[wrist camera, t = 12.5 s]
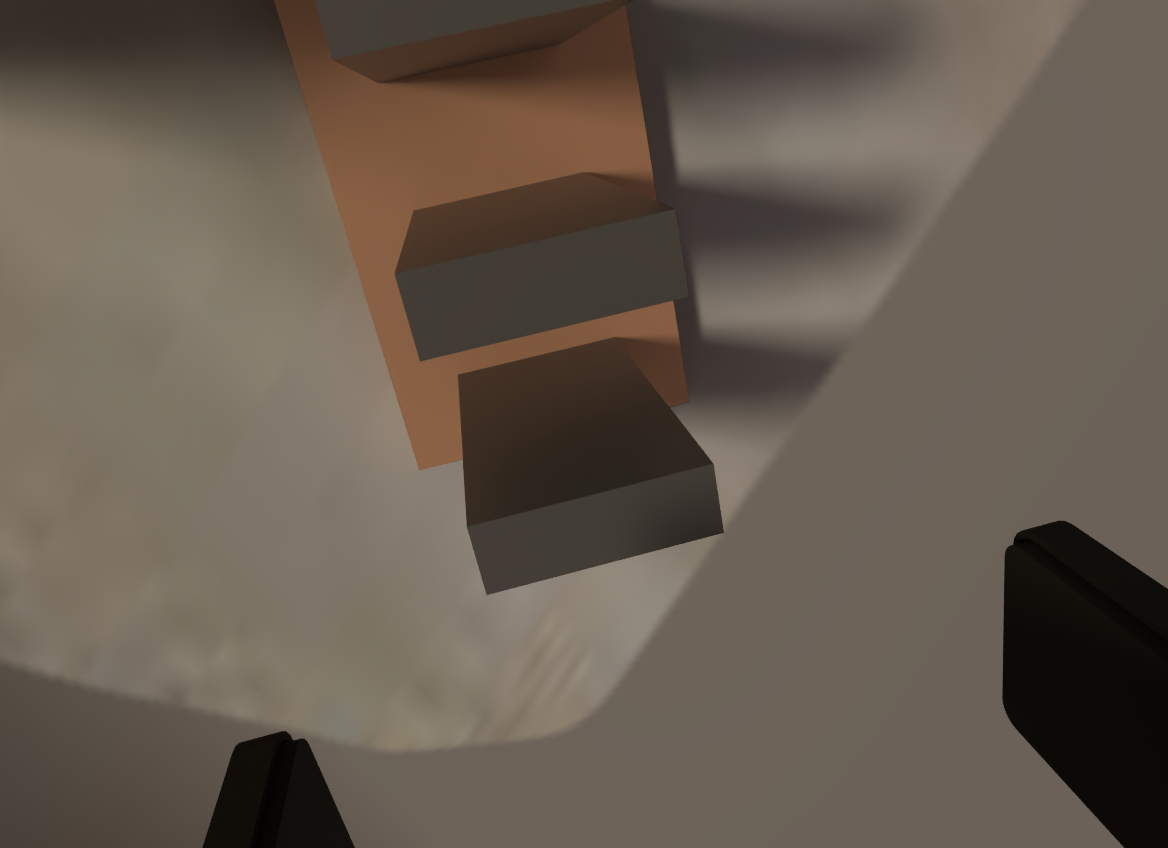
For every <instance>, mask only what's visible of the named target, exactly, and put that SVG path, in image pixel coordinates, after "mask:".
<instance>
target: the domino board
mask: <svg viewBox="0 0 1168 848" xmlns="http://www.w3.org/2000/svg"><path fill="white" fill-rule="evenodd" d="M274 2H275V6H276V9H277V12H278V15H279V19H280V22H281V25H282V28H283V32H284V35H285V38H286V41H287V44H288V48H289V51H290V54H291V57H292V61H293V64H294V67H295V70H296V73H297V77H298V80H299V83H300V86H301V90H302V93H303V96H304V99H305V103H306V106H307V109H308V112H309V115H310V119H311V122H312V125H313V128H314V132H315V135H316V138H317V141H318V145H319V148H320V151H321V154H322V157H323V161H324V164H325V167H326V170H327V174H328V177H329V180H330V183H331V187H332V190H333V193H334V196H335V199H336V203H337V206H338V209H339V212H340V216H341V219H342V222H343V225H344V228H345V232H346V235H347V238H348V241H349V245H350V248H351V251H352V254H353V258H354V261H355V264H356V267H357V270H358V274H359V277H360V280H361V283H362V287H363V290H364V293H365V296H366V300H367V303H368V306H369V309H370V312H371V316H372V319H373V322H374V325H375V329H376V332H377V335H378V338H379V342H380V345H381V348H382V351H383V354H384V358H385V361H386V364H387V367H388V371H389V374H390V377H391V380H392V383H393V387H394V390H395V393H396V396H397V400H398V403H399V406H400V409H401V413H402V416H403V419H404V422H405V425H406V429H407V432H408V435H409V438H410V442H411V445H412V448H413V451H414V455H415V458H416V461H417V464H418V467H419V470H422V469H426V468H430V467H434V466H438V465H442V464H446V463H450V462H454V461H458V460H462V459H463V453H462V436H461V419H460V403H459V386H458V375H459V374H463V373H467V372H471V371H475V370H479V369H484V368H488V367H492V366H496V365H500V364H504V363H508V362H513V361H517V360H521V359H525V358H529V357H533V356H538V355H542V354H546V353H550V352H554V351H558V350H563V349H567V348H571V347H575V346H579V345H583V344H587V343H592V342H596V341H600V340H604V339H608V338H612V337H615V338H616V339H617V341H618V342H619V343H620V345H621V346H622V347H623V348H624V350H625V351H626V352H627V354H628V355H629V356H630V357H631V359H632V360H633V361H634V363H635V364H636V365H637V366H638V368H639V369H640V370H641V372H642V373H643V374H644V375H645V377H646V378H647V379H648V381H649V382H650V383H651V384H652V386H653V387H654V388H655V390H656V391H657V392H658V393H659V395H660V396H661V397H662V398H663V400H664V401H665V402H666V404H667V405H668V406H669V407H673V406H677V405H681V404H685V403H689V395H688V389H687V383H686V377H685V370H684V364H683V358H682V352H681V346H680V339H679V333H678V327H677V321H676V315H675V308H674V302H673V301H670V302H666V303H662V304H657V305H653V306H649V307H645V308H641V309H637V310H632V311H628V312H624V313H620V314H616V315H612V316H607V317H603V318H599V319H595V320H591V321H587V322H583V323H578V324H574V325H570V326H566V327H562V328H558V329H553V330H549V331H545V332H541V333H537V334H533V335H529V336H524V337H520V338H516V339H512V340H508V341H504V342H499V343H495V344H491V345H487V346H483V347H479V348H474V349H470V350H466V351H462V352H458V353H454V354H450V355H445V356H441V357H437V358H433V359H429V360H425V361H420V360H419V356H418V353H417V350H416V346H415V343H414V339H413V336H412V333H411V329H410V326H409V322H408V319H407V315H406V312H405V309H404V305H403V302H402V298H401V295H400V292H399V288H398V285H397V281H396V278H395V274H394V273H395V270H396V267H397V263H398V260H399V257H400V254H401V250H402V247H403V244H404V240H405V237H406V234H407V230H408V227H409V224H410V220H411V217H412V214H413V211H414V210H418V209H422V208H427V207H431V206H436V205H440V204H445V203H449V202H453V201H458V200H462V199H467V198H471V197H476V196H480V195H484V194H489V193H493V192H498V191H502V190H507V189H511V188H515V187H520V186H524V185H529V184H533V183H538V182H542V181H546V180H551V179H555V178H560V177H564V176H569V175H573V174H577V173H582V172H585V173H587V174H590V175H592V176H595V177H597V178H600V179H602V180H605V181H607V182H610V183H612V184H615V185H617V186H620V187H622V188H625V189H627V190H630V191H632V192H635V193H637V194H640V195H642V196H645V197H647V198H650V199H652V200H655V201H657V196H656V190H655V184H654V178H653V172H652V165H651V159H650V153H649V147H648V140H647V134H646V128H645V122H644V116H643V109H642V103H641V97H640V91H639V85H638V78H637V72H636V66H635V60H634V53H633V47H632V41H631V35H630V29H629V22H628V16H627V10H626V5H624V6H622V7H621V8H619V9H618V10H616V11H614V12H613V13H611V14H609V15H608V16H606V17H604V18H603V19H601V20H599V21H598V22H596V23H594V24H593V25H591V26H589V27H588V28H586V29H584V30H583V31H581V32H580V33H578V34H576V35H575V36H573V37H571V38H570V39H568V40H566V41H565V42H563V43H561V44H560V45H556V46H551V47H546V48H542V49H537V50H532V51H528V52H523V53H518V54H514V55H509V56H504V57H499V58H495V59H490V60H485V61H481V62H476V63H471V64H467V65H462V66H457V67H453V68H448V69H443V70H438V71H434V72H429V73H424V74H420V75H415V76H410V77H406V78H401V79H396V80H391V81H387V82H382V83H377V82H375V81H373V80H371V79H369V78H367V77H365V76H363V75H361V74H359V73H357V72H355V71H353V70H351V69H349V68H347V67H346V66H344V65H342V64H340V63H338V62H336V61H334V60H332V59H331V56H330V52H329V49H328V45H327V42H326V39H325V35H324V32H323V28H322V25H321V21H320V18H319V15H318V11H317V8H316V4H315V1H314V0H274Z"/></svg>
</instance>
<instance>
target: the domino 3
mask: <svg viewBox="0 0 1168 848" xmlns="http://www.w3.org/2000/svg"><path fill="white" fill-rule="evenodd" d="M458 386H459V403H460V419H461V436H462V453H463V469H464V486H465V502H466V519H467V529H468V532H469V535H470V539H471V542H472V546H473V549H474V553H475V556H476V560H477V563H478V566H479V570H480V573H481V577H482V580H483V584H484V587H485V591H486V594H487V595H489V594H492V593H496V592H500V591H504V590H508V589H511V588H515V587H519V586H523V585H527V584H530V583H534V582H538V581H542V580H546V579H549V578H553V577H557V576H561V575H565V574H568V573H572V572H576V571H580V570H584V569H587V568H591V567H595V566H599V565H603V564H606V563H610V562H614V561H618V560H622V559H625V558H629V557H633V556H637V555H641V554H644V553H648V552H652V551H656V550H660V549H664V548H667V547H671V546H675V545H679V544H683V543H686V542H690V541H694V540H698V539H702V538H705V537H709V536H713V535H717V534H721V533H724V531H723V524H722V517H721V511H720V504H719V498H718V491H717V484H716V478H715V471H714V464H713V463H712V461H711V460H710V459H709V458H708V456H707V455H706V454H705V452H704V451H703V450H702V449H701V447H700V446H699V445H698V443H697V442H696V441H695V440H694V438H693V437H692V436H691V434H690V433H689V432H688V431H687V429H686V428H685V427H684V425H683V424H682V423H681V422H680V420H679V419H678V418H677V416H676V415H675V414H674V413H673V411H672V410H671V409H670V407H669V406H668V405H667V404H666V402H665V401H664V400H663V398H662V397H661V396H660V395H659V393H658V392H657V391H656V390H655V388H654V387H653V386H652V384H651V383H650V382H649V381H648V379H647V378H646V377H645V375H644V374H643V373H642V372H641V370H640V369H639V368H638V366H637V365H636V364H635V363H634V361H633V360H632V359H631V357H630V356H629V355H628V354H627V352H626V351H625V350H624V348H623V347H622V346H621V345H620V343H619V342H618V341H617V339H616V338H615V337H612V338H608V339H604V340H600V341H596V342H592V343H587V344H583V345H579V346H575V347H571V348H567V349H563V350H558V351H554V352H550V353H546V354H542V355H538V356H533V357H529V358H525V359H521V360H517V361H513V362H508V363H504V364H500V365H496V366H492V367H488V368H484V369H479V370H475V371H471V372H467V373H463V374H459V375H458Z"/></svg>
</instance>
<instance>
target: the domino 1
mask: <svg viewBox="0 0 1168 848" xmlns="http://www.w3.org/2000/svg"><path fill="white" fill-rule="evenodd" d="M314 1H315V4H316V8H317V11H318V15H319V18H320V21H321V25H322V28H323V32H324V35H325V39H326V42H327V45H328V49H329V52H330V56H331V59H332V60H334V61H336V62H338V63H340V64H342V65H344V66H346V67H347V68H349V69H351V70H353V71H355V72H357V73H359V74H361V75H363V76H365V77H367V78H369V79H371V80H373V81H375V82H377V83H382V82H387V81H391V80H396V79H401V78H406V77H410V76H415V75H420V74H424V73H429V72H434V71H438V70H443V69H448V68H453V67H457V66H462V65H467V64H471V63H476V62H481V61H485V60H490V59H495V58H499V57H504V56H509V55H514V54H518V53H523V52H528V51H532V50H537V49H542V48H546V47H551V46H556V45H560V44H561V43H563V42H565V41H566V40H568V39H570V38H571V37H573V36H575V35H576V34H578V33H580V32H581V31H583V30H584V29H586V28H588V27H589V26H591V25H593V24H594V23H596V22H598V21H599V20H601V19H603V18H604V17H606V16H608V15H609V14H611V13H613V12H614V11H616V10H618V9H619V8H621V7H622V6H624V5H626V4H627V3H629V2H631V1H632V0H314Z"/></svg>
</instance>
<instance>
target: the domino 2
mask: <svg viewBox="0 0 1168 848" xmlns="http://www.w3.org/2000/svg"><path fill="white" fill-rule="evenodd" d="M394 274H395V278H396V281H397V285H398V288H399V292H400V295H401V298H402V302H403V305H404V309H405V312H406V315H407V319H408V322H409V326H410V329H411V333H412V336H413V339H414V343H415V346H416V350H417V353H418V356H419V360H420V361H425V360H429V359H433V358H437V357H441V356H445V355H450V354H454V353H458V352H462V351H466V350H470V349H474V348H479V347H483V346H487V345H491V344H495V343H499V342H504V341H508V340H512V339H516V338H520V337H524V336H529V335H533V334H537V333H541V332H545V331H549V330H553V329H558V328H562V327H566V326H570V325H574V324H578V323H583V322H587V321H591V320H595V319H599V318H603V317H607V316H612V315H616V314H620V313H624V312H628V311H632V310H637V309H641V308H645V307H649V306H653V305H657V304H662V303H666V302H670V301H674V300H678V299H682V298H686V297H689V293H688V286H687V280H686V273H685V267H684V260H683V254H682V247H681V241H680V234H679V228H678V221H677V214H676V209H675V208H672V207H670V206H667V205H665V204H662V203H660V202H657V201H655V200H652V199H650V198H647V197H645V196H642V195H640V194H637V193H635V192H632V191H630V190H627V189H625V188H622V187H620V186H617V185H615V184H612V183H610V182H607V181H605V180H602V179H600V178H597V177H595V176H592V175H590V174H587V173H585V172H582V173H577V174H573V175H569V176H564V177H560V178H555V179H551V180H546V181H542V182H538V183H533V184H529V185H524V186H520V187H515V188H511V189H507V190H502V191H498V192H493V193H489V194H484V195H480V196H476V197H471V198H467V199H462V200H458V201H453V202H449V203H445V204H440V205H436V206H431V207H427V208H422V209H418V210H414V211H413V214H412V217H411V220H410V224H409V227H408V230H407V234H406V237H405V240H404V244H403V247H402V250H401V254H400V257H399V260H398V263H397V267H396V270H395V273H394Z"/></svg>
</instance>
